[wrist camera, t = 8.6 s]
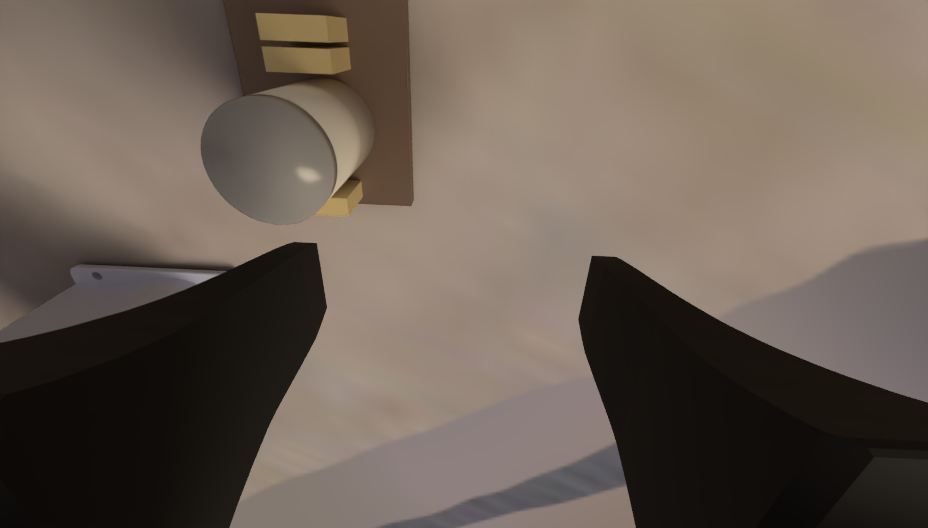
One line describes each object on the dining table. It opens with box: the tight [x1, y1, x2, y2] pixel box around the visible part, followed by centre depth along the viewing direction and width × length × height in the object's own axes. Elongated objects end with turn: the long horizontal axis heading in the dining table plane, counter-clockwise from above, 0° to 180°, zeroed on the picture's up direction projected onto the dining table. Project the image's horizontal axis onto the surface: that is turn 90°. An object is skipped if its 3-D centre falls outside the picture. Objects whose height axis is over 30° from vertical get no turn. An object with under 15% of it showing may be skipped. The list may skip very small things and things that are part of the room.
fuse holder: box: [223, 0, 414, 217], centre depth 16 cm, size 7×14×3 cm, turn 178°
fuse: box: [201, 78, 375, 225], centre depth 15 cm, size 4×4×6 cm
